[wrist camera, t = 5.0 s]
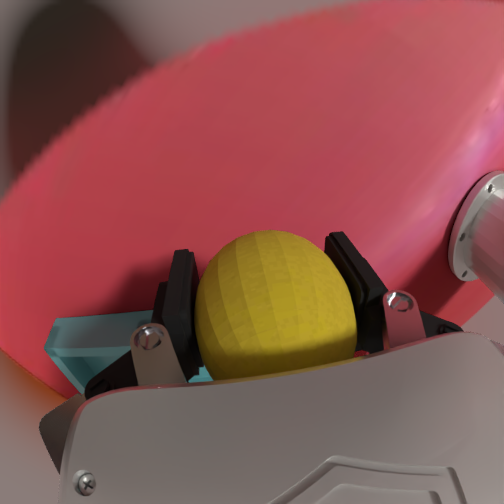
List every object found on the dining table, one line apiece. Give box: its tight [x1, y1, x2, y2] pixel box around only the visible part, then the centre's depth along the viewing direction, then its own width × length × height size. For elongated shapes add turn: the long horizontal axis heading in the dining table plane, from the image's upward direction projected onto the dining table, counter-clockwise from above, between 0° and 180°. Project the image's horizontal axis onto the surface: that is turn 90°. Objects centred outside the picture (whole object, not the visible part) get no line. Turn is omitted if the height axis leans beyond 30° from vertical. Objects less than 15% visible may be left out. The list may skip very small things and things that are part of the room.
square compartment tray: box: [44, 310, 213, 394], centre depth 24 cm, size 18×18×4 cm
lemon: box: [194, 230, 357, 381], centre depth 10 cm, size 6×6×8 cm
